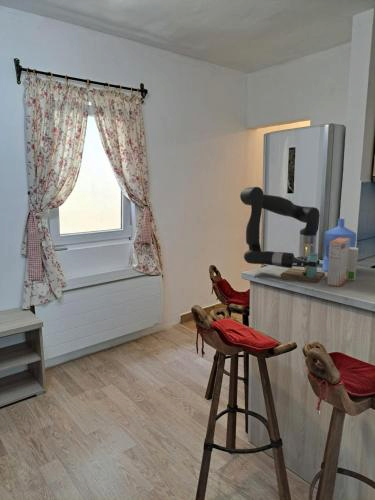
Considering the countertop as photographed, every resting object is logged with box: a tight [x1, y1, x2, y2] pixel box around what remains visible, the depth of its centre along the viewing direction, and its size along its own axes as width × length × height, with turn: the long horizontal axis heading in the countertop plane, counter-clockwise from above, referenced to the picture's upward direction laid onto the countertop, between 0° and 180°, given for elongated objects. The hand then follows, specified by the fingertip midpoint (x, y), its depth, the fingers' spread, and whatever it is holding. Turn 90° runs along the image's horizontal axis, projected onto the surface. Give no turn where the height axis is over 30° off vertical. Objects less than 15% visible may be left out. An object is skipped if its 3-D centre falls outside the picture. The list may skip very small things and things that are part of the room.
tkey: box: [302, 243, 314, 274], centre depth 182 cm, size 5×10×14 cm, turn 159°
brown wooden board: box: [279, 267, 326, 284], centre depth 182 cm, size 15×18×2 cm
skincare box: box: [347, 246, 359, 281], centre depth 179 cm, size 8×7×16 cm
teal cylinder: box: [306, 252, 319, 278], centre depth 174 cm, size 5×5×12 cm
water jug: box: [322, 218, 357, 273], centre depth 193 cm, size 16×16×28 cm
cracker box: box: [327, 238, 351, 287], centre depth 170 cm, size 14×6×21 cm, turn 141°
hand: (317, 263), depth 172 cm, fingers closed on teal cylinder, 4 cm apart
